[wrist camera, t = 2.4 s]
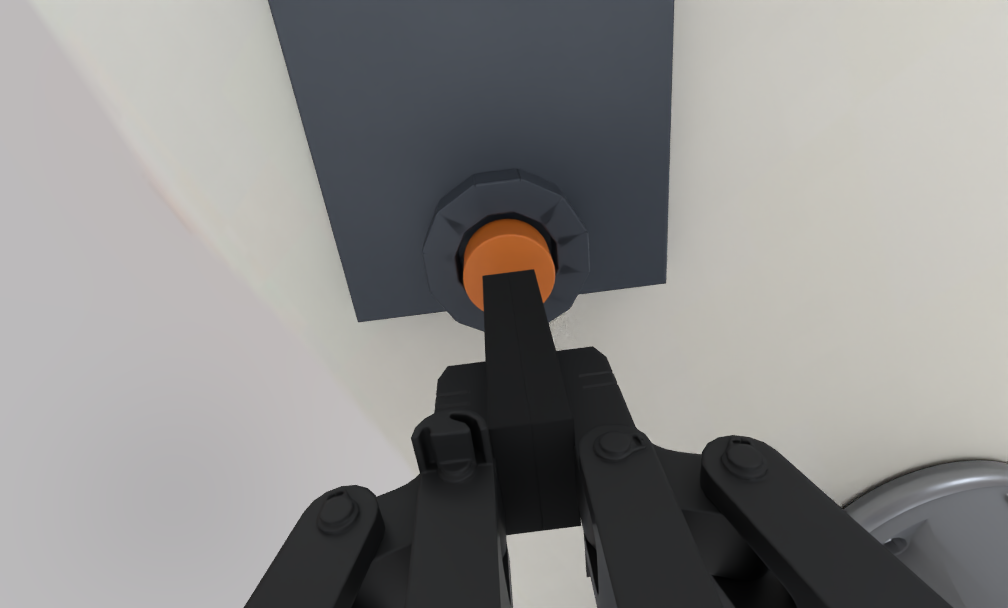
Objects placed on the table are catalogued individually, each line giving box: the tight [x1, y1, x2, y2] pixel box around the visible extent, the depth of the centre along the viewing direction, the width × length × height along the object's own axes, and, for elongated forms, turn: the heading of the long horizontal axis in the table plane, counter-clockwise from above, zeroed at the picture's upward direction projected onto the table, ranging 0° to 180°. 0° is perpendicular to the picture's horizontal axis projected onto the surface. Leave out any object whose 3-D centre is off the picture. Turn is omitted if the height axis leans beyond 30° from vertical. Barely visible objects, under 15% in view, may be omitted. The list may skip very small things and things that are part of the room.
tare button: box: [463, 219, 555, 311], centre depth 19 cm, size 3×3×2 cm
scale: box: [268, 0, 674, 332], centre depth 18 cm, size 18×13×3 cm
